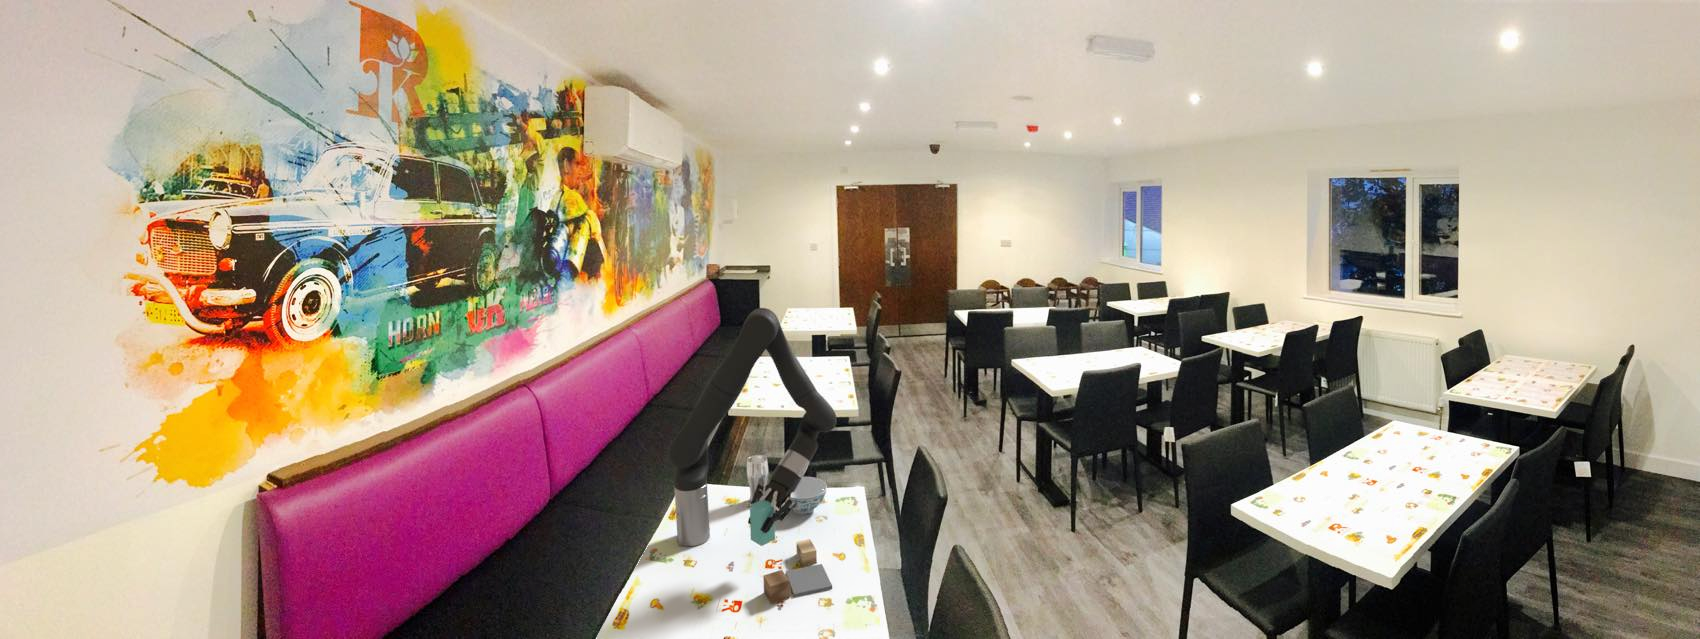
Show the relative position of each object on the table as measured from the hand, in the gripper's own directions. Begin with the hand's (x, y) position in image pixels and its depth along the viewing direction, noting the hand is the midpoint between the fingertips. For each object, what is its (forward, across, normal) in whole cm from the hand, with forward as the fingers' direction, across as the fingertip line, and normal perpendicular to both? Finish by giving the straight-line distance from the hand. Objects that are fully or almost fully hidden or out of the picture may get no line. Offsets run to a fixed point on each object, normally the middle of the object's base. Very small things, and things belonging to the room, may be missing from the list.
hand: (757, 528), depth 155 cm
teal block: (+2, 0, +4) cm, 5 cm away
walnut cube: (+11, +10, +8) cm, 17 cm away
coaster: (+5, +12, +14) cm, 19 cm away
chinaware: (-13, -16, +32) cm, 38 cm away
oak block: (0, +5, +19) cm, 20 cm away
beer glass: (-9, -31, +28) cm, 43 cm away
